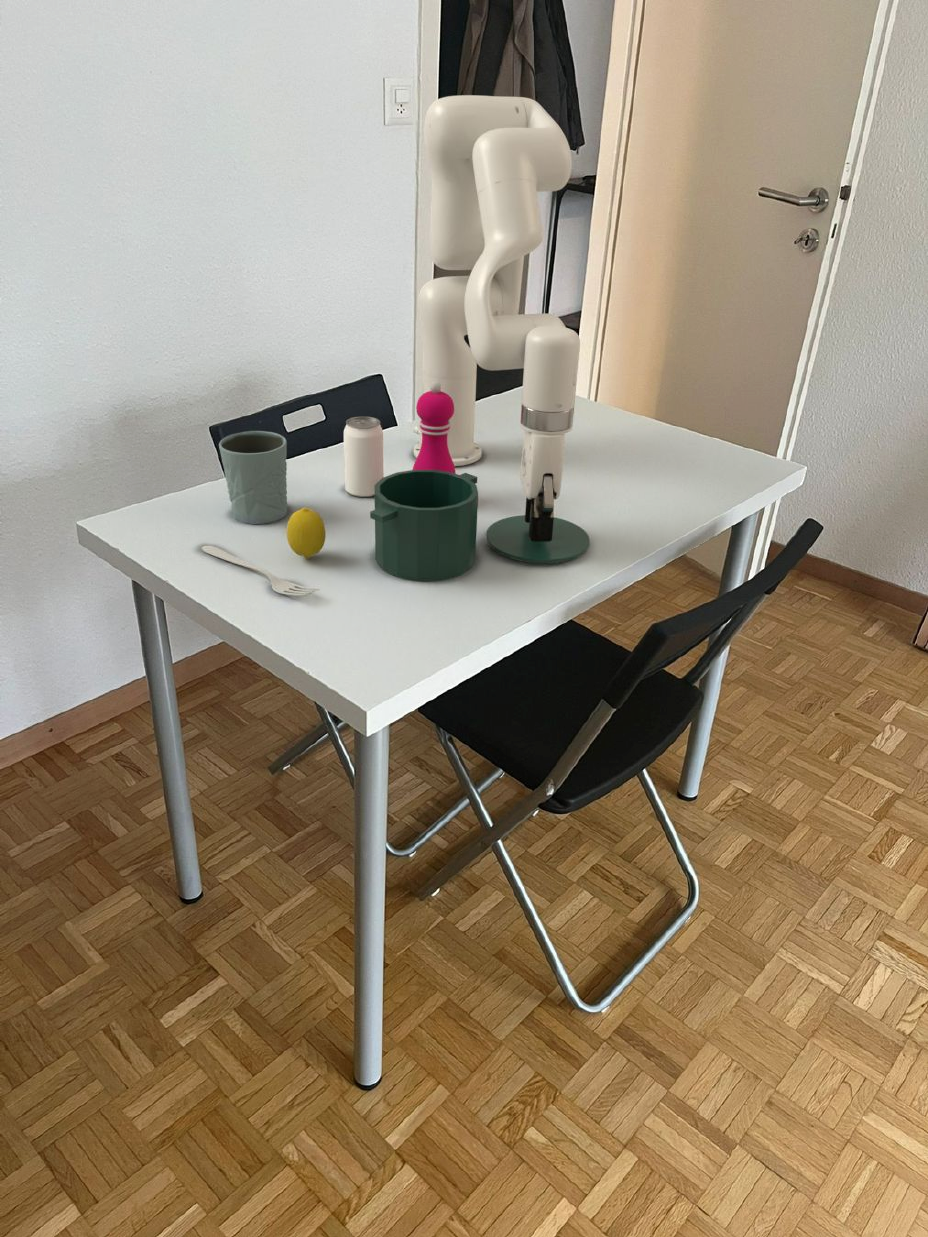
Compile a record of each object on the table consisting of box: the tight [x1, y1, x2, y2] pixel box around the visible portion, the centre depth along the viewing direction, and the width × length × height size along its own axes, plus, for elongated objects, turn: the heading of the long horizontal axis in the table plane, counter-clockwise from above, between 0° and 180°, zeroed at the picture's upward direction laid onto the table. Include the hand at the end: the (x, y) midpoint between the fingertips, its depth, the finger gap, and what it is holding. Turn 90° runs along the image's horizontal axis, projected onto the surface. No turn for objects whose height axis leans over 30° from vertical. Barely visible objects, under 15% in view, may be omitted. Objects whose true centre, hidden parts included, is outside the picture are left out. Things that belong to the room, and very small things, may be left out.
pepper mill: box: [412, 382, 457, 474], centre depth 157 cm, size 7×7×20 cm
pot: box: [369, 469, 479, 582], centre depth 141 cm, size 15×20×11 cm
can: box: [343, 416, 384, 498], centre depth 162 cm, size 6×6×12 cm
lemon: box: [286, 506, 327, 560], centre depth 141 cm, size 6×6×8 cm
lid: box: [485, 500, 590, 564], centre depth 148 cm, size 16×16×7 cm
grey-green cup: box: [218, 430, 288, 525], centre depth 153 cm, size 10×10×12 cm
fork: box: [201, 544, 320, 597], centre depth 138 cm, size 3×24×2 cm, turn 49°
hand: (538, 530), depth 149 cm, fingers open, 5 cm apart
